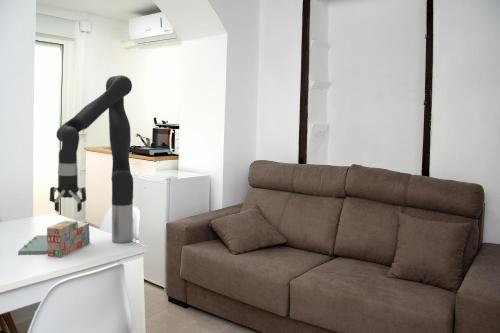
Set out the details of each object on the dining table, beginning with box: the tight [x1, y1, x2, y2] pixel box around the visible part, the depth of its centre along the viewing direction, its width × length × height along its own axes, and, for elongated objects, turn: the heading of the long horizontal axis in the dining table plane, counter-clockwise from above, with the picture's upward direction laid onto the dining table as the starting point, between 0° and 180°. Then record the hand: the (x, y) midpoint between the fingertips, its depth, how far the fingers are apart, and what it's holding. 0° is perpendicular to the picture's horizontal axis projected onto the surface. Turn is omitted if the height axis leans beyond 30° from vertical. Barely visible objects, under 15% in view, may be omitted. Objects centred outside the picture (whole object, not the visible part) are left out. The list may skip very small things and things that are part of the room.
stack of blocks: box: [46, 220, 91, 258], centre depth 191 cm, size 21×6×12 cm, turn 169°
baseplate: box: [17, 234, 48, 256], centre depth 195 cm, size 12×24×2 cm, turn 9°
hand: (68, 211), depth 189 cm, fingers open, 8 cm apart
